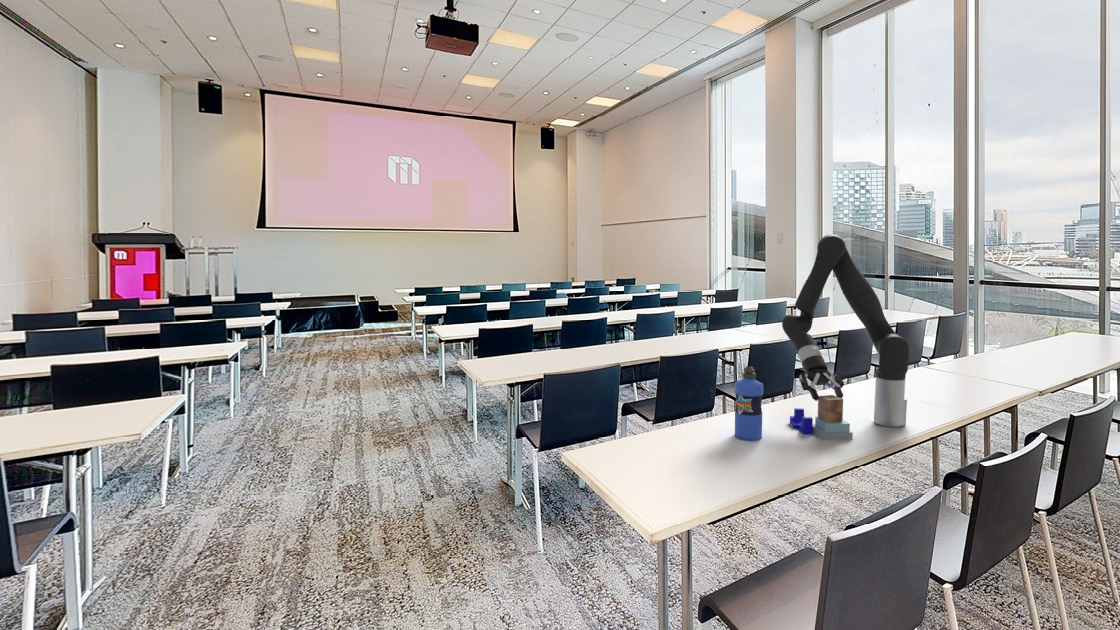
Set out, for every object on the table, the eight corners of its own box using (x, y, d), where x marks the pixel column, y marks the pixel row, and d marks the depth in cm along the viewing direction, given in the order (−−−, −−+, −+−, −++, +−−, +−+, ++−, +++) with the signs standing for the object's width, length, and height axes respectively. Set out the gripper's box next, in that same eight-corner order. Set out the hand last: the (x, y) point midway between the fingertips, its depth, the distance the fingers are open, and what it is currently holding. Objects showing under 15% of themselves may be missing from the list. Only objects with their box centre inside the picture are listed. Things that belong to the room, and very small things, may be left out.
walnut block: (831, 416, 188) (832, 394, 187) (842, 421, 183) (843, 399, 182) (817, 418, 187) (818, 396, 186) (828, 422, 182) (828, 400, 181)
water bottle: (741, 430, 192) (742, 362, 190) (767, 436, 186) (768, 366, 183) (729, 437, 186) (730, 367, 183) (754, 443, 179) (756, 371, 176)
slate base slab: (835, 431, 191) (836, 423, 191) (852, 441, 181) (852, 432, 181) (808, 432, 191) (809, 424, 190) (823, 442, 181) (824, 433, 180)
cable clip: (789, 423, 199) (790, 408, 198) (802, 424, 198) (802, 408, 198) (798, 434, 187) (799, 418, 187) (812, 434, 187) (812, 418, 186)
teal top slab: (837, 424, 189) (838, 416, 189) (849, 432, 181) (849, 423, 181) (815, 424, 189) (815, 416, 189) (825, 432, 181) (826, 424, 181)
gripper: (797, 355, 191) (813, 394, 181) (835, 353, 192) (853, 392, 182) (789, 366, 197) (805, 405, 187) (826, 365, 198) (843, 403, 188)
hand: (829, 399), depth 185 cm, fingers open, 8 cm apart
